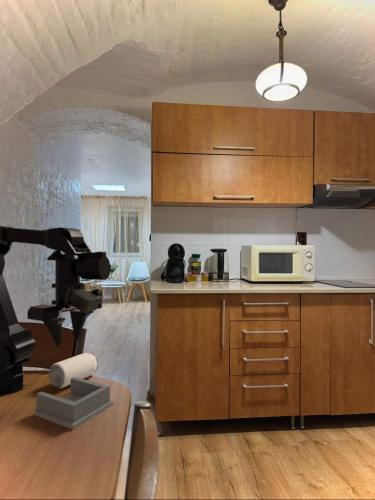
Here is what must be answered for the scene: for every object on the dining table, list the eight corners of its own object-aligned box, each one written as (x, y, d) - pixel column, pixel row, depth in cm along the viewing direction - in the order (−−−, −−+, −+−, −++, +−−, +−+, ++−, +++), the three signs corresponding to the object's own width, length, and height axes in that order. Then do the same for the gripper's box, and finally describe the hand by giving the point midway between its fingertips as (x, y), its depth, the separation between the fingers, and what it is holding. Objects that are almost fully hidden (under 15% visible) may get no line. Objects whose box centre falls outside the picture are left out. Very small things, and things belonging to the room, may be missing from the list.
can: (62, 362, 85) (97, 350, 95) (46, 364, 88) (81, 352, 98) (66, 388, 84) (101, 373, 94) (50, 389, 87) (85, 374, 98)
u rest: (33, 415, 73) (34, 394, 72) (76, 393, 83) (76, 376, 83) (73, 430, 67) (73, 407, 67) (113, 405, 77) (113, 386, 77)
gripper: (61, 284, 70) (61, 358, 70) (118, 277, 86) (118, 337, 86) (25, 282, 75) (25, 351, 75) (85, 275, 91) (86, 332, 91)
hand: (67, 342), depth 82 cm, fingers open, 5 cm apart
